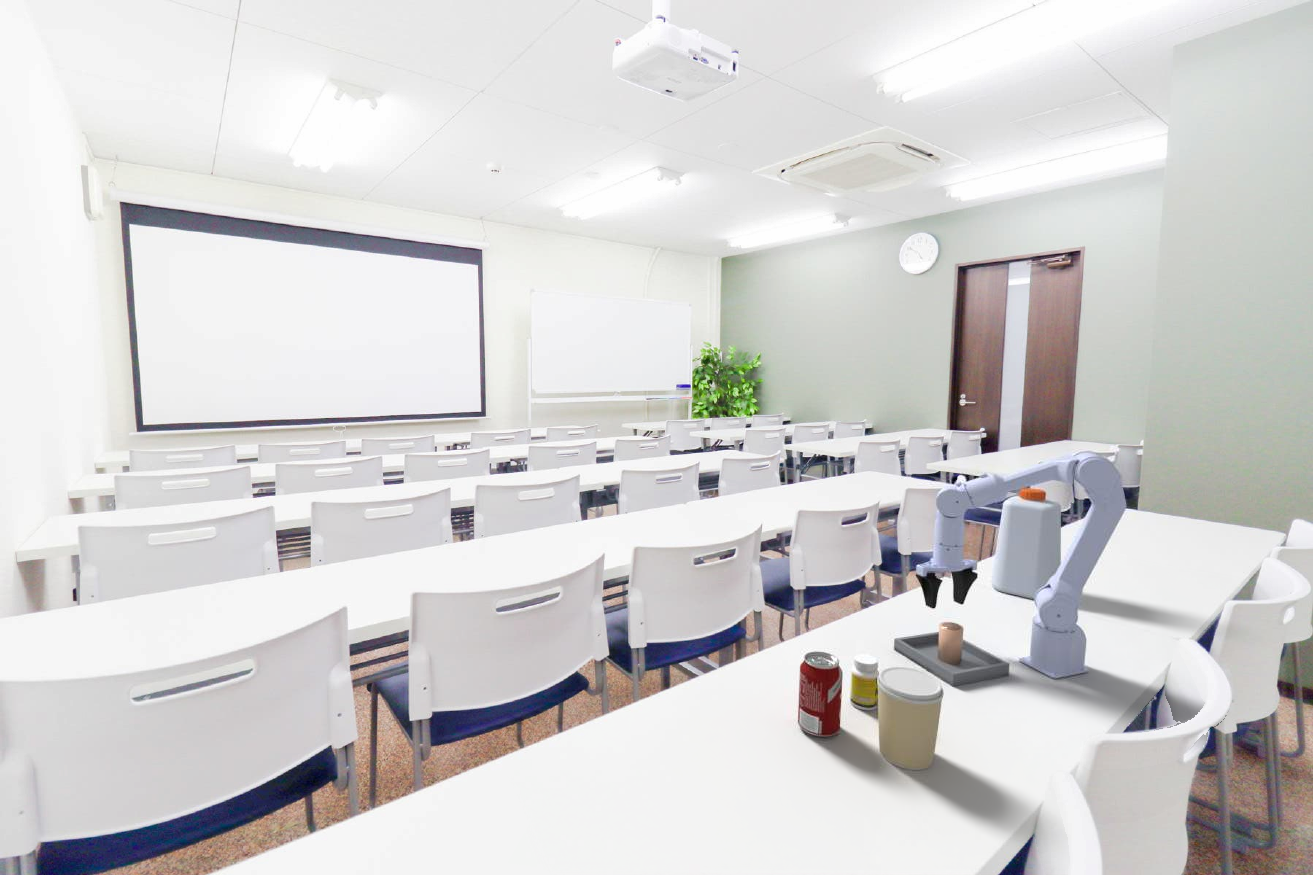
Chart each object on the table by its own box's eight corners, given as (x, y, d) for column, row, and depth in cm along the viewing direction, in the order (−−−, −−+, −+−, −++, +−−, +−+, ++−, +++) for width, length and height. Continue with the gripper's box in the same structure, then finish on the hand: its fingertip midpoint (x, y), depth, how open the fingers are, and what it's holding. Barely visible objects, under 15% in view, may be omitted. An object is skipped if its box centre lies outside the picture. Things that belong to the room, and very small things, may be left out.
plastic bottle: (1063, 590, 166) (1071, 490, 163) (1051, 604, 155) (1060, 498, 152) (1001, 576, 176) (1008, 482, 173) (986, 589, 165) (994, 489, 162)
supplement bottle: (879, 712, 104) (882, 666, 103) (851, 709, 105) (853, 663, 104) (875, 698, 109) (877, 654, 108) (848, 695, 110) (850, 651, 109)
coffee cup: (915, 733, 98) (919, 663, 97) (952, 770, 89) (957, 694, 88) (862, 738, 97) (866, 667, 95) (894, 777, 87) (899, 699, 86)
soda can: (817, 744, 95) (820, 672, 94) (789, 722, 101) (791, 654, 100) (848, 733, 98) (852, 663, 97) (819, 712, 104) (822, 646, 103)
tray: (945, 640, 133) (946, 630, 133) (1008, 675, 118) (1009, 663, 118) (893, 649, 128) (894, 638, 128) (952, 686, 113) (953, 674, 113)
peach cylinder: (950, 652, 126) (952, 620, 125) (966, 662, 121) (968, 629, 121) (932, 655, 124) (934, 623, 124) (948, 665, 120) (950, 632, 119)
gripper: (960, 535, 134) (956, 594, 135) (907, 540, 129) (903, 601, 130) (987, 544, 127) (982, 606, 128) (932, 549, 122) (928, 613, 124)
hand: (944, 604), depth 129 cm, fingers open, 7 cm apart
